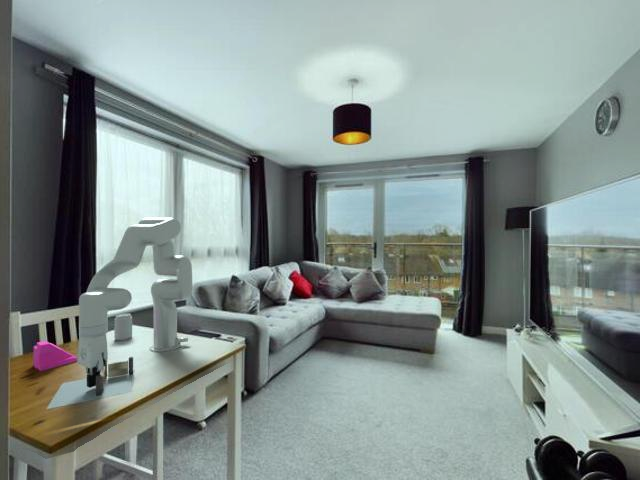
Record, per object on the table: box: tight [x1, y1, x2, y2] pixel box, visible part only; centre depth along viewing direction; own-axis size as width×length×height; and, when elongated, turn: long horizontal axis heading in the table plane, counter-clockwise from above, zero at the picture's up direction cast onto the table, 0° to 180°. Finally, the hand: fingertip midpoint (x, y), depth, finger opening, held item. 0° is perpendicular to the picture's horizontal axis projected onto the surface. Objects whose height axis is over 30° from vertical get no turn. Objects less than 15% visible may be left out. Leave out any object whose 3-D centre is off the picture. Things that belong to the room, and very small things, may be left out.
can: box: [113, 313, 133, 341], centre depth 151 cm, size 8×8×12 cm
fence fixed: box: [96, 356, 134, 396], centre depth 102 cm, size 10×14×6 cm
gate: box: [100, 366, 106, 392], centre depth 101 cm, size 10×1×5 cm, turn 33°
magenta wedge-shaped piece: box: [32, 340, 78, 372], centre depth 120 cm, size 12×10×10 cm
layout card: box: [46, 369, 135, 410], centre depth 100 cm, size 21×18×1 cm
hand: (93, 385), depth 99 cm, fingers closed
